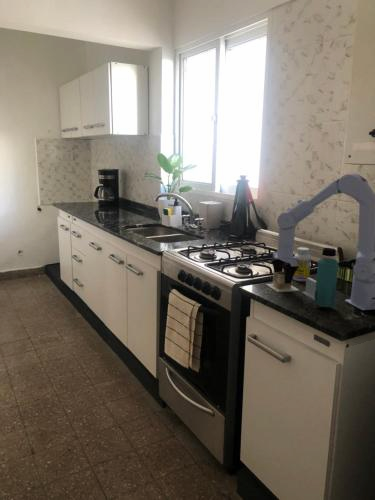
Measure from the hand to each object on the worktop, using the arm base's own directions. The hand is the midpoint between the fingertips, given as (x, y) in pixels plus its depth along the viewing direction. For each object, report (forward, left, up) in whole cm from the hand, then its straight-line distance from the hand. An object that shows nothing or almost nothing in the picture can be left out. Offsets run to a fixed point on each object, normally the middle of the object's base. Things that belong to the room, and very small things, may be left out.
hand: (282, 280), depth 157 cm
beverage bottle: (-23, -3, -3) cm, 23 cm away
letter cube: (0, 0, -2) cm, 2 cm away
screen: (-12, -6, -3) cm, 13 cm away
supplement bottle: (+9, -13, -3) cm, 16 cm away
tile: (0, 0, -3) cm, 3 cm away
